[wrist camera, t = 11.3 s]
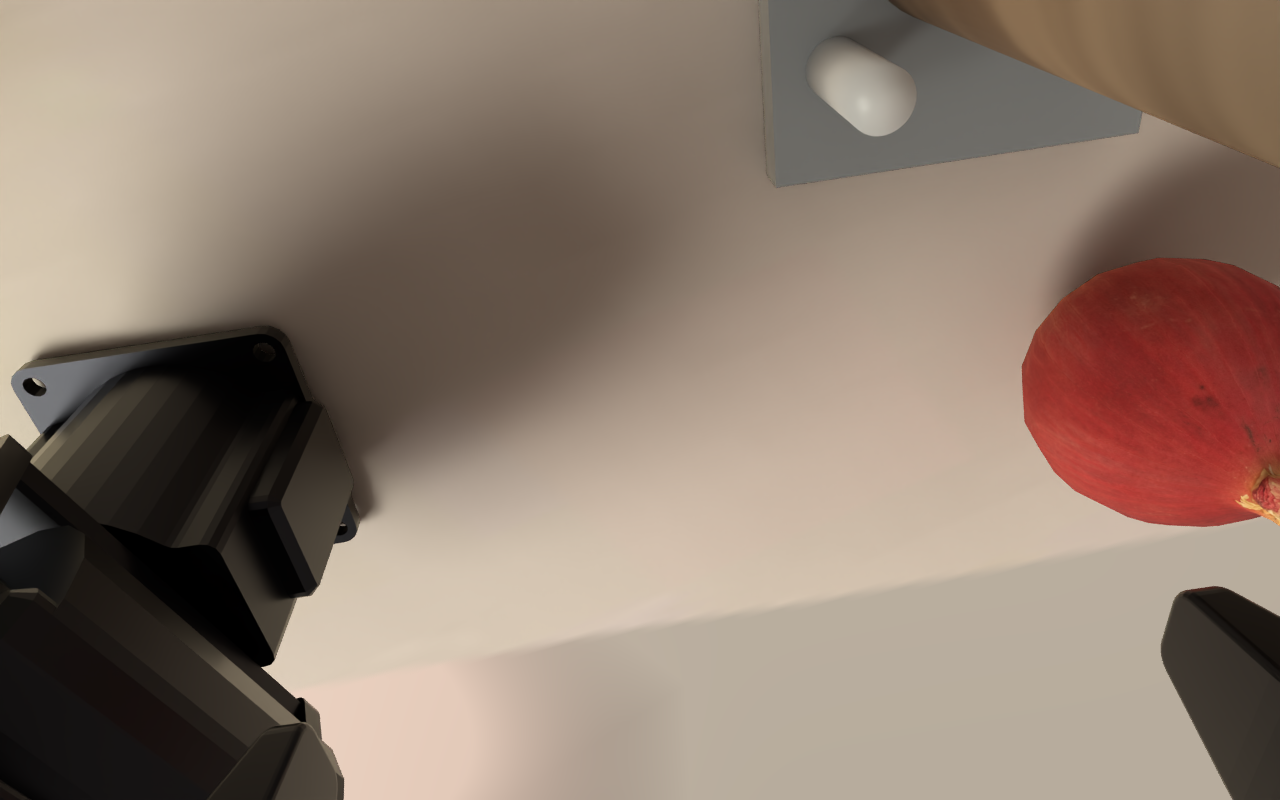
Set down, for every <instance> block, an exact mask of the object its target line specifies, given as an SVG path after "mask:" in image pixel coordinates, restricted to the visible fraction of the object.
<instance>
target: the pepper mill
mask: <svg viewBox="0 0 1280 800" xmlns="http://www.w3.org/2000/svg"><path fill="white" fill-rule="evenodd" d="M888 1H889V2H890V3H892V4H893V5H894V6H896V7H897V8H898V9H900V10H901V11H903V12H905V13H906V14H908V15H910V16H912V17H914V18H917V19H919V20H922V21H924V22H926V23H929V24H931V25H934V26H936V27H939V28H941V29H943V30H946V31H948V32H951V33H953V34H955V35H958V36H960V37H963V38H965V39H968V40H970V41H972V42H975V43H977V44H980V45H982V46H985V47H987V48H989V49H992V50H994V51H997V52H999V53H1002V54H1004V55H1006V56H1009V57H1011V58H1014V59H1016V60H1019V61H1021V62H1023V63H1026V64H1028V65H1031V66H1033V67H1035V68H1038V69H1040V70H1043V71H1045V72H1048V73H1050V74H1052V75H1055V76H1057V77H1060V78H1062V79H1065V80H1067V81H1069V82H1072V83H1074V84H1077V85H1079V86H1082V87H1084V88H1086V89H1089V90H1091V91H1094V92H1096V93H1099V94H1101V95H1103V96H1106V97H1108V98H1111V99H1113V100H1115V101H1118V102H1120V103H1123V104H1125V105H1128V106H1130V107H1132V108H1135V109H1137V110H1140V111H1142V112H1145V113H1147V114H1149V115H1152V116H1154V117H1157V118H1159V119H1162V120H1164V121H1166V122H1169V123H1171V124H1174V125H1176V126H1179V127H1181V128H1183V129H1186V130H1188V131H1191V132H1193V133H1195V134H1198V135H1200V136H1203V137H1205V138H1208V139H1210V140H1212V141H1215V142H1217V143H1220V144H1222V145H1225V146H1227V147H1229V148H1232V149H1234V150H1237V151H1239V152H1242V153H1244V154H1246V155H1249V156H1251V157H1254V158H1256V159H1258V160H1261V161H1263V162H1266V163H1268V164H1271V165H1273V166H1275V167H1278V168H1280V0H888Z"/></svg>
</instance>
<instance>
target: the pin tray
mask: <svg viewBox="0 0 1280 800" xmlns="http://www.w3.org/2000/svg"><path fill="white" fill-rule="evenodd" d="M758 6H759V27H760V48H761V68H762V89H763V110H764V131H765V151H766V172H767V176H768V177H769V178H770V180H771V181H772V183H773V184H774V186H775V187H776V188H779V187H785V186H792V185H799V184H805V183H812V182H818V181H825V180H832V179H838V178H845V177H851V176H858V175H865V174H871V173H878V172H884V171H891V170H898V169H904V168H911V167H917V166H924V165H931V164H937V163H944V162H951V161H957V160H964V159H970V158H977V157H984V156H990V155H997V154H1003V153H1010V152H1017V151H1023V150H1030V149H1036V148H1043V147H1050V146H1056V145H1063V144H1069V143H1076V142H1083V141H1089V140H1096V139H1102V138H1109V137H1116V136H1122V135H1129V134H1135V133H1138V132H1139V127H1140V122H1141V116H1142V111H1140V110H1137V109H1135V108H1132V107H1130V106H1128V105H1125V104H1123V103H1120V102H1118V101H1115V100H1113V99H1111V98H1108V97H1106V96H1103V95H1101V94H1099V93H1096V92H1094V91H1091V90H1089V89H1086V88H1084V87H1082V86H1079V85H1077V84H1074V83H1072V82H1069V81H1067V80H1065V79H1062V78H1060V77H1057V76H1055V75H1052V74H1050V73H1048V72H1045V71H1043V70H1040V69H1038V68H1035V67H1033V66H1031V65H1028V64H1026V63H1023V62H1021V61H1019V60H1016V59H1014V58H1011V57H1009V56H1006V55H1004V54H1002V53H999V52H997V51H994V50H992V49H989V48H987V47H985V46H982V45H980V44H977V43H975V42H972V41H970V40H968V39H965V38H963V37H960V36H958V35H955V34H953V33H951V32H948V31H946V30H943V29H941V28H939V27H936V26H934V25H931V24H929V23H926V22H924V21H922V20H919V19H917V18H914V17H912V16H910V15H908V14H906V13H905V12H903V11H901V10H900V9H898V8H897V7H896V6H894V5H893V4H892V3H890V2H889V1H888V0H758Z"/></svg>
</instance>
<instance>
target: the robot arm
mask: <svg viewBox="0 0 1280 800" xmlns="http://www.w3.org/2000/svg"><path fill="white" fill-rule="evenodd" d="M259 343H267V344H268V345H270V346H272V347H273V349H274V350H275V353H274V354H268V353H266V352H264V351H262V350H261V349H260V347H259V345H258V344H259ZM32 378H36V379H38V380H40V381H42V383H43V384H44V385H45V386H46V388H43V387H41V386H39V385H37V384H36V383H35V382H34V381H33V380H32ZM11 385H12V387H13V390H14V392H15V393H16V395H17V397H18V398H19V400H20V401H21V403H22V405H23V406H24V408H25V410H26V411H27V413H28V414H29V416H30V418H31V419H32V421H33V422H34V424H35V426H36V427H37V429H38V431H39V432H40V434H41V435H40V436H39V437H38V438H37V439H36V440H35V441H34V442H33V443H32V444H31V446H30V447H29V448H28V449H27V450H26V449H25V448H24V447H22V446H21V445H20V444H19V443H18V442H17V441H16V440H15V439H13V438H12V437H11V436H10V435H9V434H7V435H5V436H2V437H0V800H343V799H344V778H343V775H342V773H341V770H340V768H339V766H338V763H337V760H336V758H335V755H334V753H333V750H332V749H331V748H330V747H329V746H328V745H327V744H325V743H324V742H323V741H322V737H321V726H320V715H319V712H318V711H317V710H316V709H315V708H313V706H311V705H310V704H309V703H308V702H307V701H306V700H305V699H304V698H297V699H296V698H295V697H294V696H293V695H291V694H290V693H289V692H288V691H287V690H286V689H285V688H284V687H282V686H281V685H280V684H279V683H278V682H277V681H276V680H275V679H273V678H272V677H271V676H270V675H269V674H268V673H267V672H266V671H264V670H263V669H262V668H261V667H265V666H268V665H270V664H272V663H273V661H274V660H275V657H276V655H277V652H278V649H279V647H280V644H281V641H282V638H283V636H284V633H285V630H286V627H287V625H288V622H289V619H290V617H291V614H292V611H293V608H294V606H295V603H296V600H297V598H299V597H306V596H312V594H313V593H314V592H315V590H316V589H317V587H318V586H319V585H320V582H321V579H322V576H323V573H324V570H325V567H326V564H327V561H328V559H329V556H330V553H331V550H332V547H333V544H335V543H342V542H346V541H349V540H351V539H352V538H353V537H355V535H356V533H357V530H358V527H359V523H360V518H359V514H358V512H357V509H356V507H355V504H354V502H353V499H352V497H351V491H352V488H353V485H354V481H353V478H352V475H351V473H350V470H349V467H348V465H347V462H346V460H345V457H344V455H343V452H342V450H341V447H340V444H339V442H338V439H337V437H336V434H335V432H334V429H333V427H332V424H331V421H330V419H329V416H328V414H327V411H326V409H325V407H324V406H322V405H321V404H320V403H318V402H317V401H315V400H313V398H312V396H311V393H310V391H309V388H308V386H307V383H306V381H305V378H304V376H303V373H302V371H301V368H300V366H299V363H298V361H297V358H296V356H295V353H294V351H293V348H292V346H291V343H290V341H289V339H288V338H287V336H286V335H285V334H284V333H283V332H281V331H280V330H279V329H276V328H273V327H271V326H260V327H253V328H246V329H240V330H233V331H227V332H220V333H213V334H207V335H200V336H193V337H187V338H180V339H174V340H167V341H160V342H154V343H147V344H141V345H134V346H127V347H121V348H114V349H108V350H101V351H94V352H88V353H81V354H75V355H68V356H61V357H55V358H48V359H41V360H35V361H31V362H28V363H26V364H24V365H23V366H22V367H21V368H20V369H19V370H18V371H17V372H16V373H15V374H14V375H13V376H12V380H11ZM341 522H343V523H345V524H346V526H340V523H341ZM1161 656H1162V661H1163V664H1164V666H1165V669H1166V671H1167V673H1168V675H1169V677H1170V679H1171V681H1172V683H1173V685H1174V687H1175V689H1176V690H1177V693H1178V695H1179V697H1180V698H1181V700H1182V702H1183V704H1184V706H1185V708H1186V710H1187V712H1188V714H1189V716H1190V718H1191V720H1192V722H1193V724H1194V726H1195V728H1196V730H1197V732H1198V734H1199V736H1200V738H1201V739H1202V742H1203V743H1204V745H1205V748H1206V749H1207V751H1208V753H1209V755H1210V757H1211V759H1212V761H1213V763H1214V765H1215V767H1216V769H1217V771H1218V773H1219V775H1220V777H1221V779H1222V781H1223V783H1224V785H1225V787H1226V788H1227V790H1228V792H1229V794H1230V796H1231V798H1232V799H1233V800H1280V616H1278V615H1276V614H1274V613H1272V612H1271V611H1269V610H1267V609H1265V608H1263V607H1261V606H1259V605H1258V604H1256V603H1254V602H1252V601H1250V600H1248V599H1246V598H1245V597H1243V596H1241V595H1239V594H1237V593H1235V592H1233V591H1231V590H1229V589H1226V588H1223V587H1218V586H1212V587H1205V588H1198V589H1191V590H1185V591H1182V592H1180V593H1179V594H1178V595H1177V596H1176V597H1175V599H1174V601H1173V604H1172V608H1171V611H1170V614H1169V618H1168V621H1167V625H1166V628H1165V632H1164V635H1163V638H1162V642H1161Z"/></svg>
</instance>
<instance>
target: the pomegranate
mask: <svg viewBox="0 0 1280 800" xmlns="http://www.w3.org/2000/svg"><path fill="white" fill-rule="evenodd" d="M1022 386H1023V402H1024V419H1025V423H1026V425H1027V427H1028V429H1029V431H1030V432H1031V434H1032V436H1033V438H1034V440H1035V442H1036V443H1037V445H1038V447H1039V448H1040V450H1041V452H1042V453H1043V455H1044V456H1045V458H1046V460H1047V461H1048V463H1049V464H1050V466H1051V467H1052V469H1053V471H1054V472H1055V473H1056V474H1057V475H1058V476H1059V477H1060V478H1061V479H1063V480H1064V481H1065V482H1066V483H1067V484H1068V485H1069V486H1070V487H1071V488H1072V489H1074V490H1075V491H1077V492H1078V493H1080V494H1082V495H1084V496H1086V497H1088V498H1090V499H1092V500H1094V501H1096V502H1098V503H1100V504H1102V505H1105V506H1107V507H1109V508H1111V509H1113V510H1115V511H1117V512H1119V513H1121V514H1123V515H1125V516H1127V517H1130V518H1133V519H1137V520H1140V521H1144V522H1147V523H1154V524H1163V525H1177V526H1198V527H1207V526H1220V525H1224V524H1229V523H1234V522H1239V521H1244V520H1249V519H1253V518H1257V517H1260V516H1263V517H1265V518H1267V519H1270V520H1272V521H1273V522H1275V523H1276V524H1278V525H1279V526H1280V288H1279V287H1278V286H1276V285H1274V284H1272V283H1270V282H1268V281H1266V280H1264V279H1261V278H1259V277H1257V276H1255V275H1253V274H1251V273H1249V272H1247V271H1245V270H1243V269H1241V268H1238V267H1236V266H1234V265H1230V264H1225V263H1220V262H1216V261H1211V260H1206V259H1182V258H1156V259H1151V260H1146V261H1141V262H1137V263H1133V264H1130V265H1127V266H1123V267H1120V268H1117V269H1113V270H1110V271H1107V272H1103V273H1100V274H1097V275H1096V276H1094V277H1093V278H1092V279H1090V280H1089V281H1087V282H1086V283H1084V284H1083V285H1081V286H1080V287H1078V288H1077V289H1076V290H1074V291H1073V292H1071V293H1070V294H1068V295H1067V296H1065V297H1064V298H1063V299H1062V300H1061V301H1060V302H1059V303H1058V305H1057V306H1056V307H1055V308H1054V309H1053V311H1052V312H1051V313H1050V314H1049V315H1048V317H1047V318H1046V319H1045V320H1044V322H1043V323H1042V324H1041V325H1040V326H1039V328H1038V329H1037V330H1036V331H1035V334H1034V336H1033V339H1032V342H1031V344H1030V347H1029V349H1028V352H1027V354H1026V357H1025V359H1024V362H1023V364H1022Z"/></svg>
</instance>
